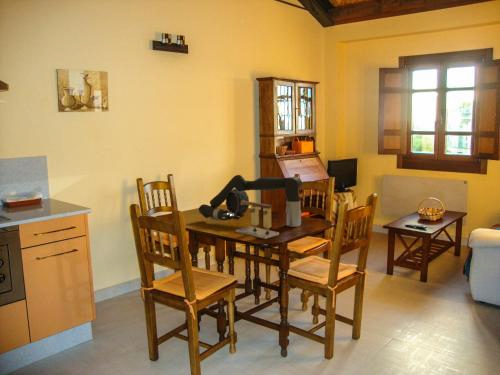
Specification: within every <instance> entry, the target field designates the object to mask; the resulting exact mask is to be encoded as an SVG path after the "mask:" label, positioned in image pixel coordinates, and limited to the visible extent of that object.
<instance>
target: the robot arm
mask: <svg viewBox="0 0 500 375" xmlns="http://www.w3.org/2000/svg"><path fill="white" fill-rule="evenodd" d="M302 186H303V181H302V179H301V178H300V177H299V176H298V177H297V176H292V177H291V176H290V177H275V176H273V177H272V176H260V177H258V178H257V179H254V180H246V179H245V178H244V177H243V176H242V175H241V174H237V175H234V176H233V177H232V178H231V179H230V180H229V181H228V183H227V184H226V185H225V186H224V187H223V188H222V189H221V190H220V192H219V193H217V194H216V195H215V196H214V197H213V198H211V199H210V201H209V205H208V204H205V203H204V204H201V205H200V206H199V207H198V212H199V213H200V214H201V215H202V216H203V218H206V219H208V218H213V219H215V220H216V219H217V220H220V221H224V222H225V221H227V220H237V221H238V220H240V216H239V215H237V214H236V213H234V214H232V213H230V212H229V211H228V209H223V208H218V207H220V206H221V205H222V204H223V203H224V202H226V198H227V196H228V194H229V192H230V191H231V190H232V189H236V190H238V191H245V192H247V191H274V190H275V191H276V190H281V189H285V198H286V226H287V227H290V228H291V227H293V228H296V227H300V226H301V225H302V211H301V196H300V195H299V190H300V189H301V187H302Z"/></svg>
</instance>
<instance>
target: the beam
mask: <svg viewBox="0 0 500 375" xmlns="http://www.w3.org/2000/svg"><path fill="white" fill-rule="evenodd" d="M243 204H244V205H249V206H250V207H251V206H256V207H259V208H268V209H270V208H271V209H272V205H271V204H266V203H261V202H255V201H253V202H252V201H249V202H248V201H245V200H243V201H241V205H243Z"/></svg>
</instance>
